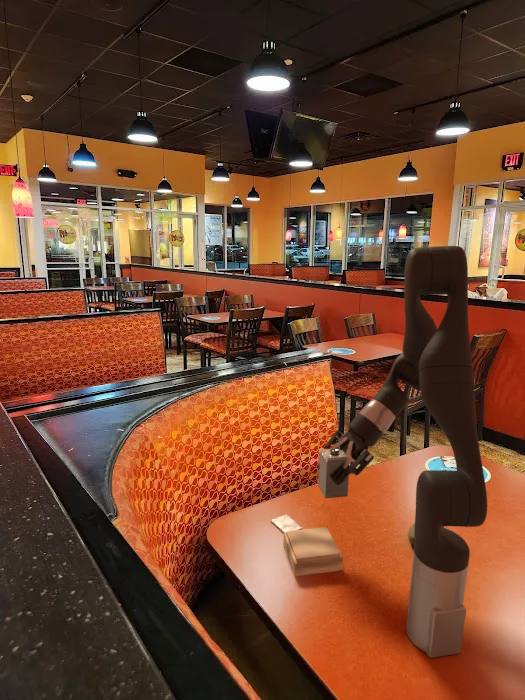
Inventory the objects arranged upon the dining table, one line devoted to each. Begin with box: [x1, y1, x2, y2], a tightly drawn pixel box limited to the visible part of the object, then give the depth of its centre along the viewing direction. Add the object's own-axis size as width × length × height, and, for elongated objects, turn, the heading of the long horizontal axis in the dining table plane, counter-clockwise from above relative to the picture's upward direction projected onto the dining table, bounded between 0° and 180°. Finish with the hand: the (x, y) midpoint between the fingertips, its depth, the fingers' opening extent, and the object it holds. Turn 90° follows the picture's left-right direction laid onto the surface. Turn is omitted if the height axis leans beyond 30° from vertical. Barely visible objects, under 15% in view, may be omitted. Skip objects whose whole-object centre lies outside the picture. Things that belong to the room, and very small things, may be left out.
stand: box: [283, 526, 344, 577], centre depth 106 cm, size 11×11×4 cm
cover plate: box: [270, 514, 303, 534], centre depth 119 cm, size 7×5×1 cm
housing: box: [318, 447, 350, 499], centre depth 108 cm, size 6×6×11 cm
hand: (327, 475), depth 108 cm, fingers closed on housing, 6 cm apart
